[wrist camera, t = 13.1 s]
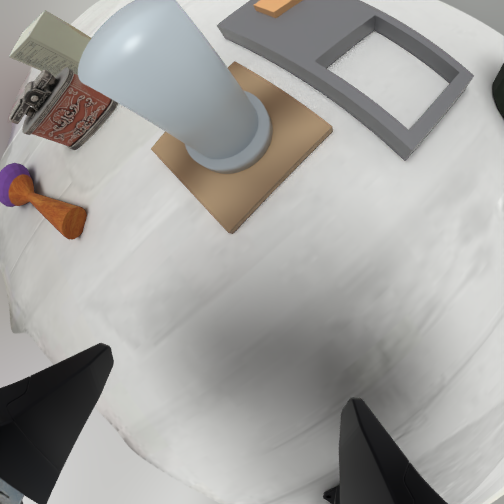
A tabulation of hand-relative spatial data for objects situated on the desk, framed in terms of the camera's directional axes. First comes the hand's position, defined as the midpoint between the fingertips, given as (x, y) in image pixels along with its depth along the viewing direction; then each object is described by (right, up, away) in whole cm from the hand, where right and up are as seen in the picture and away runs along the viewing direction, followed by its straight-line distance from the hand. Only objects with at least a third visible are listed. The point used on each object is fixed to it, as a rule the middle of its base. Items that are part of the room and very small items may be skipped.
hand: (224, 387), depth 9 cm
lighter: (-16, +19, +16) cm, 29 cm away
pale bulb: (-1, +13, +10) cm, 16 cm away
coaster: (0, +13, +10) cm, 17 cm away
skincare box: (-20, +29, +17) cm, 39 cm away
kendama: (-24, +11, +18) cm, 32 cm away
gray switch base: (+8, +21, +8) cm, 24 cm away
